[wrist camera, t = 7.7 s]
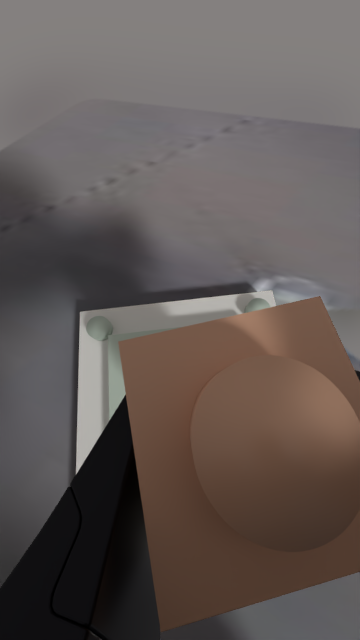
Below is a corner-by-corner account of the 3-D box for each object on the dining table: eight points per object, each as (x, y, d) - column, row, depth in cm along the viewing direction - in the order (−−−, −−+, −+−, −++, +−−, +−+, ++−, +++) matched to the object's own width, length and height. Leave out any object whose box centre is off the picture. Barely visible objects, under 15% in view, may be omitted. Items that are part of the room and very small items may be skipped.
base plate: (85, 542, 17) (62, 577, 14) (88, 318, 23) (72, 305, 19) (318, 510, 18) (349, 537, 14) (264, 298, 23) (278, 282, 20)
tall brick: (252, 436, 13) (531, 604, 3) (177, 455, 13) (152, 729, 2) (229, 361, 14) (352, 272, 4) (161, 377, 14) (101, 328, 4)
